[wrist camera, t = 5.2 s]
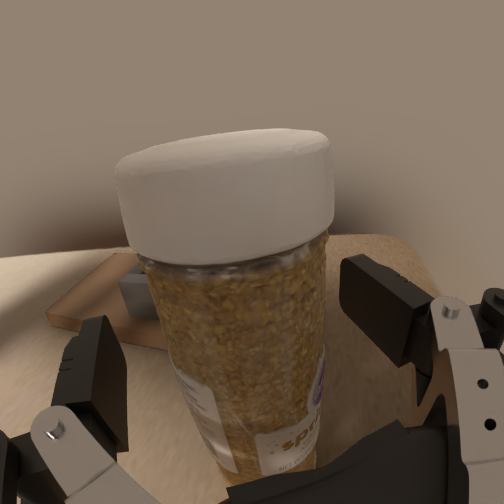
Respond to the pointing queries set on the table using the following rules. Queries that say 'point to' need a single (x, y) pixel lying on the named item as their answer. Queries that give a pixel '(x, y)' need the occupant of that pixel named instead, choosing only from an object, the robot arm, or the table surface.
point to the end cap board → (113, 302)
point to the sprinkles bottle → (239, 285)
